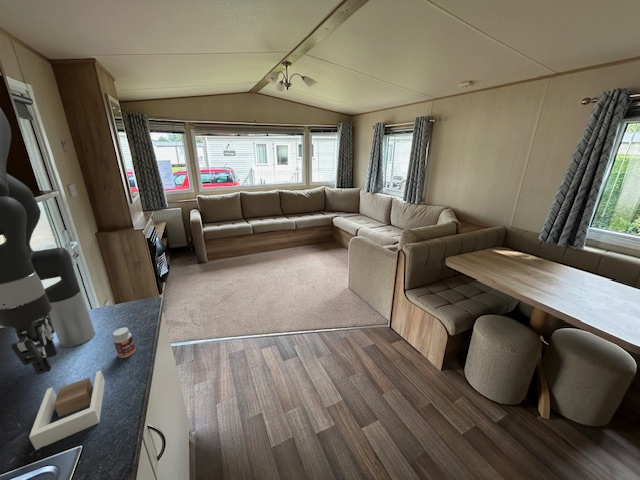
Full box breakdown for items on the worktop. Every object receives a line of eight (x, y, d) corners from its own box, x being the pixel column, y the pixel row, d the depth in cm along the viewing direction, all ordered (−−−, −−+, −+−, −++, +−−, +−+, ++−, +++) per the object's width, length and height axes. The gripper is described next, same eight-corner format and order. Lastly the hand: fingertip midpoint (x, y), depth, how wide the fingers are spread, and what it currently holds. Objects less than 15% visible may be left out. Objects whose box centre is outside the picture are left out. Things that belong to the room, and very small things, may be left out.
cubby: (52, 400, 70) (47, 389, 68) (104, 381, 75) (100, 370, 74) (35, 449, 58) (29, 437, 57) (99, 422, 64) (94, 410, 62)
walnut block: (64, 399, 70) (59, 387, 69) (93, 388, 73) (89, 377, 72) (59, 417, 65) (53, 405, 64) (90, 405, 68) (85, 393, 67)
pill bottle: (126, 359, 83) (120, 337, 80) (114, 357, 84) (107, 335, 81) (139, 348, 87) (133, 327, 85) (127, 346, 88) (121, 325, 86)
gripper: (5, 287, 57) (34, 351, 63) (-27, 321, 46) (12, 395, 51) (52, 278, 61) (76, 339, 66) (33, 307, 50) (63, 378, 55)
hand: (48, 363), depth 59 cm, fingers open, 5 cm apart
